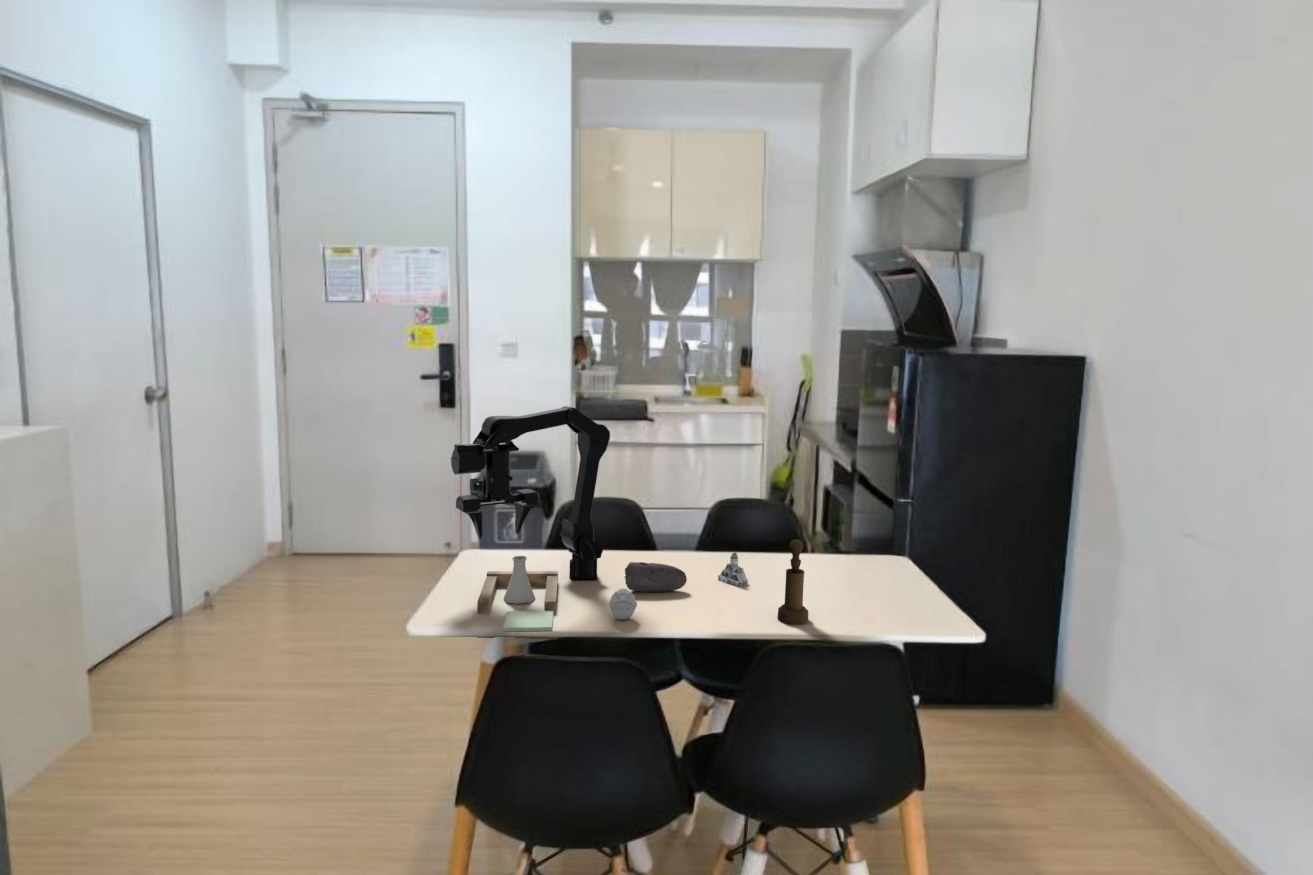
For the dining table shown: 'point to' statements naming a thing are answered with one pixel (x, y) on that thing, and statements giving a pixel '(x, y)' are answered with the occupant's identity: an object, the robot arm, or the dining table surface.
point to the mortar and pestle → (794, 590)
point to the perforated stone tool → (653, 577)
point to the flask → (519, 584)
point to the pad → (528, 621)
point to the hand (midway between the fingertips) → (498, 536)
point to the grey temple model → (733, 573)
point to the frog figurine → (622, 604)
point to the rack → (503, 579)
